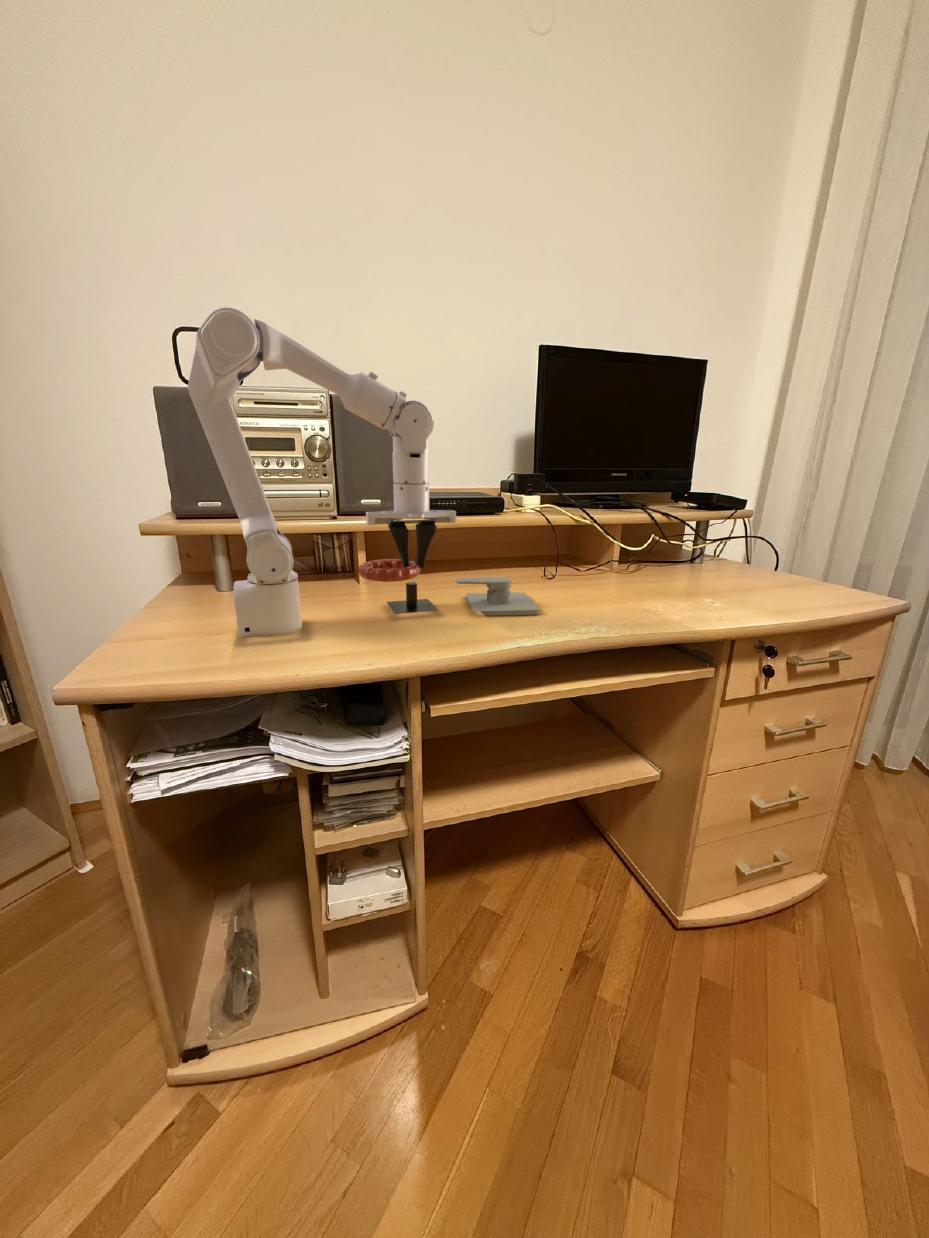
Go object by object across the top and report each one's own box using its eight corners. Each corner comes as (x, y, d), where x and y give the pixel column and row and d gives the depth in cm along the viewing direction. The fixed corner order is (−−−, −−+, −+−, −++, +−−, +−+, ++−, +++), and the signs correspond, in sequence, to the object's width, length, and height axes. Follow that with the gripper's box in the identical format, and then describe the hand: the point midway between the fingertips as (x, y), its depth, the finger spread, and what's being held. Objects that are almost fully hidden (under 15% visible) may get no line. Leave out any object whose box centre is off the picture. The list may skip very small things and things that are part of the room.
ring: (363, 584, 75) (362, 572, 75) (356, 571, 84) (355, 559, 84) (426, 580, 78) (426, 568, 78) (412, 567, 87) (412, 556, 87)
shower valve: (452, 571, 98) (525, 570, 100) (452, 597, 100) (524, 596, 101) (459, 587, 86) (542, 585, 88) (459, 616, 88) (540, 614, 90)
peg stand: (394, 619, 86) (393, 590, 84) (386, 606, 93) (385, 579, 91) (438, 615, 88) (438, 587, 87) (427, 603, 95) (427, 577, 94)
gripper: (368, 485, 72) (373, 574, 76) (462, 484, 77) (461, 569, 81) (362, 482, 79) (366, 565, 83) (449, 482, 83) (449, 561, 87)
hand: (412, 567), depth 82 cm, fingers closed on ring, 2 cm apart
